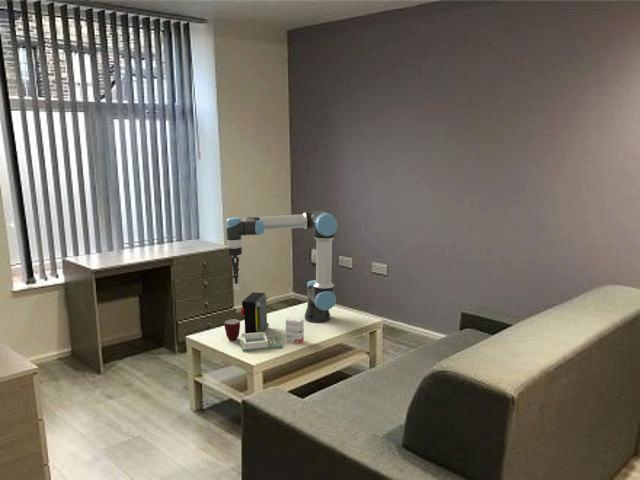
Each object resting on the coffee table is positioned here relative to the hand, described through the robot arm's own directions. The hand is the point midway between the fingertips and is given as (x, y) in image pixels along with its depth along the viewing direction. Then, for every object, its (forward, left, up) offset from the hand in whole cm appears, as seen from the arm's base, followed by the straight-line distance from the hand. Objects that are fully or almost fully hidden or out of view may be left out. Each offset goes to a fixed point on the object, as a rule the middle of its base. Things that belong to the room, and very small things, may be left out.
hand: (236, 286), depth 284 cm
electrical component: (-10, -1, -28) cm, 29 cm away
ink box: (-28, +18, -28) cm, 43 cm away
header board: (-10, +18, -27) cm, 34 cm away
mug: (+4, +6, -28) cm, 28 cm away
